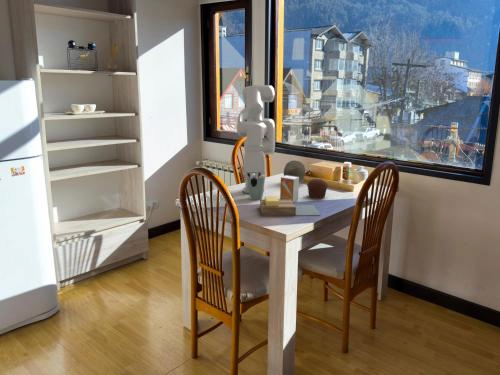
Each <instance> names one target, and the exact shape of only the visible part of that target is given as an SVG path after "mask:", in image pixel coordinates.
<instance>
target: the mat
mask: <svg viewBox="0 0 500 375" xmlns="http://www.w3.org/2000/svg"><path fill="white" fill-rule="evenodd" d="M294 205H295V207H296V215H295V216H296V217H297V216H298V217H303V216H304V217H306V216H319V217H320V216H321V213H320V212H319V211H318V209H317V208H316V207H315V205H313V204H311V205H310V204H308V205H307V204H305V205H304V204H303V205H301V204H300V205H296V204H294Z"/></svg>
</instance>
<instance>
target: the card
mask: <svg viewBox="0 0 500 375" xmlns="http://www.w3.org/2000/svg"><path fill="white" fill-rule="evenodd" d="M278 199H279V198H278V196H277V195H265V196H264V200H265V203H266V206H279V200H278Z"/></svg>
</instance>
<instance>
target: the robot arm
mask: <svg viewBox="0 0 500 375" xmlns="http://www.w3.org/2000/svg"><path fill="white" fill-rule="evenodd" d="M241 92H242V93H241V94H242V99H243V103H244V105H245V107H244V108H243V109H242V110H241V111H240V113H239V114H238V116H237V123H236V132H237V134H238V136H239V137H242V138H243V137H246V139H245V140H244V143H243V144H244V145H243V146H244V148H243V149H244V154H243V162H242V164H243V167H242V168H243V171H242V174H243V176H245V186H244V188H243V189H242V192H243V194H248V195H250V193H249V187H248V180H247V177H246V175H248V176H249V177H250V178H251V185H252V187H256V185H257V178H258V177H259V176H260V175H264V174H265V175H266V171H265V169H266V168H265V166H266V165H265V155H274V153H275V150H276V124H275V121H274V119H272V118H264V117H263V110H264V103H273V101H274V100H275V96H276V95H275V92H276V91H275V88H274V87H273V86H272V85H268V84H254V85H249V86H245V87H243V89H242V91H241ZM264 136H266V137H264ZM252 173H255V177H254V178H253V175H252ZM263 193H265V189H263Z"/></svg>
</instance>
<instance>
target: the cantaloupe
mask: <svg viewBox="0 0 500 375" xmlns="http://www.w3.org/2000/svg"><path fill="white" fill-rule="evenodd" d="M286 175H287V176H294V177H299V183H300V182H302V181H303V180H304V179H305V177H306V167H305V164H304V163H303V162H301V161H300V160H299V161H298V160H290V161H288V162H286V164H285V166H284V169H283V176H286Z"/></svg>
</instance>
